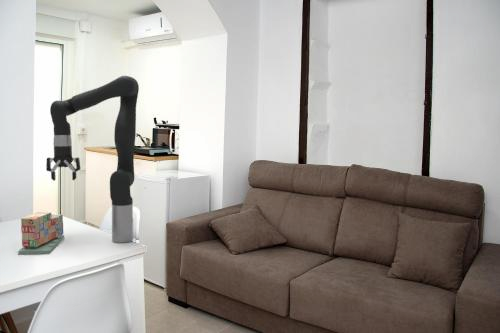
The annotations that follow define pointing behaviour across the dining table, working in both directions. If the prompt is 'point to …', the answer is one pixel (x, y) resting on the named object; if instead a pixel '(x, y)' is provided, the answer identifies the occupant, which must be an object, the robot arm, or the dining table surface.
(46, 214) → the stack of blocks
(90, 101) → the robot arm
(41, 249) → the baseplate
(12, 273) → the dining table surface
